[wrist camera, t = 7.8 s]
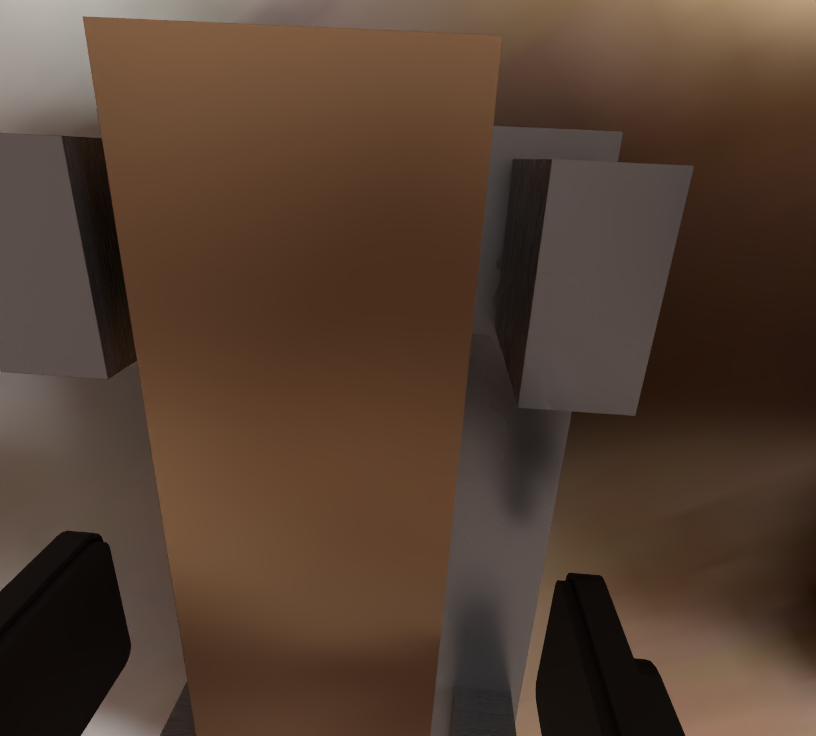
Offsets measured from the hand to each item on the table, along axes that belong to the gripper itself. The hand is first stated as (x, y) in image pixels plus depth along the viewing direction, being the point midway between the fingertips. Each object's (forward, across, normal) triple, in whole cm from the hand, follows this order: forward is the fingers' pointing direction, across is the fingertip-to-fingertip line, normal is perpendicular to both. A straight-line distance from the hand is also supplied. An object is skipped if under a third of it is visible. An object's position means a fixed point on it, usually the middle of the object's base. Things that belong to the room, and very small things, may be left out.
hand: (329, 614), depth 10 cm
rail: (+3, 0, 0) cm, 3 cm away
